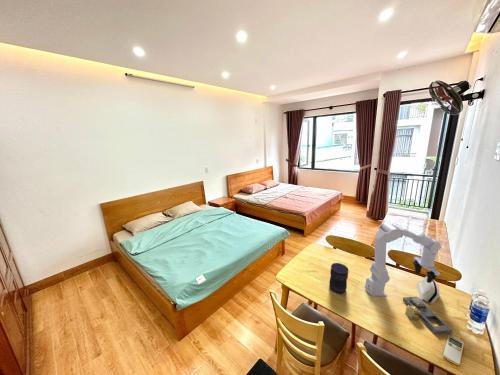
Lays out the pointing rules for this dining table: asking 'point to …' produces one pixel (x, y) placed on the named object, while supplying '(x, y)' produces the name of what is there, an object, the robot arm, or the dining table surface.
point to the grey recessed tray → (430, 318)
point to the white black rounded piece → (428, 290)
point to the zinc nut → (418, 303)
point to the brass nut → (413, 313)
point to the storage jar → (338, 278)
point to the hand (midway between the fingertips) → (423, 277)
